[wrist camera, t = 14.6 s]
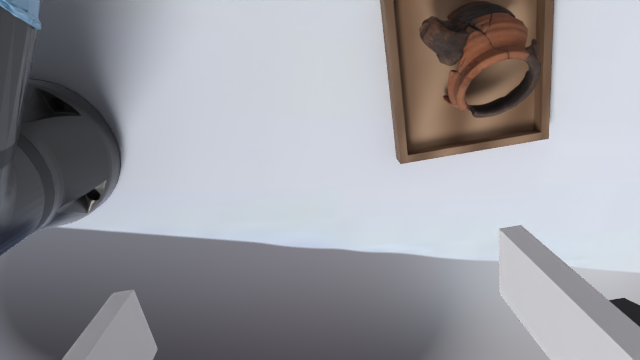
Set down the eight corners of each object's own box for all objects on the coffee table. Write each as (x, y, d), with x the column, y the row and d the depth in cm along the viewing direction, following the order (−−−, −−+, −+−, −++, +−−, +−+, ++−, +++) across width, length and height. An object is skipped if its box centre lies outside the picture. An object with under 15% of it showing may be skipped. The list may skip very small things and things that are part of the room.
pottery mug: (531, 10, 38) (577, 57, 32) (468, 86, 44) (498, 136, 39) (432, -36, 33) (466, 10, 28) (378, 56, 40) (398, 108, 34)
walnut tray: (396, 158, 42) (400, 163, 40) (379, -6, 37) (383, -8, 35) (537, 134, 42) (548, 138, 40) (542, -36, 36) (555, -40, 34)
